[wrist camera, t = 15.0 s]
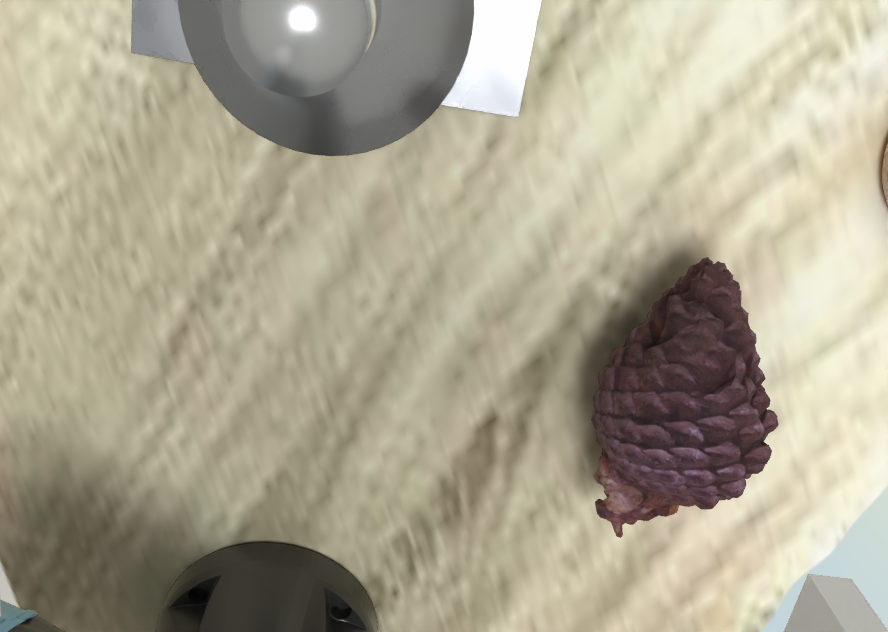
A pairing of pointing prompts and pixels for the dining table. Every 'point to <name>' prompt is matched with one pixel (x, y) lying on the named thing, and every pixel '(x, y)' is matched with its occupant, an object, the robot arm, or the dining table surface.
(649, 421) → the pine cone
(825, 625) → the robot arm
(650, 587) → the dining table surface
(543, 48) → the dining table surface
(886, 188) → the planter
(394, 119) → the grey square hole fixture
